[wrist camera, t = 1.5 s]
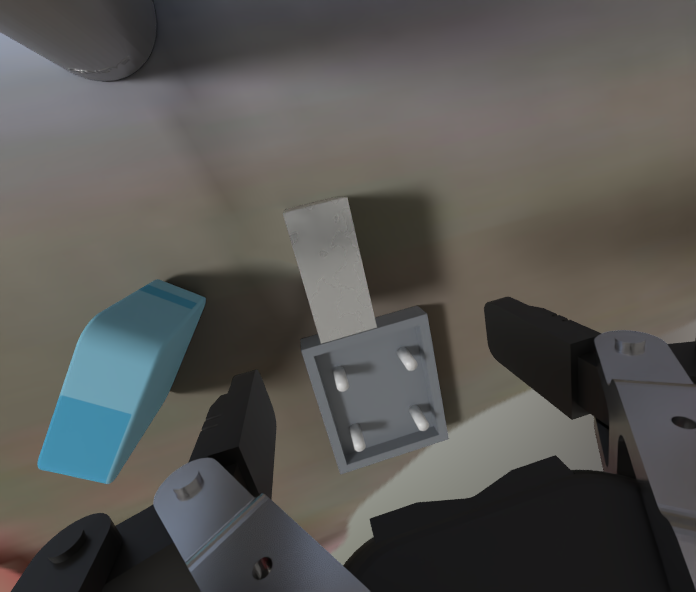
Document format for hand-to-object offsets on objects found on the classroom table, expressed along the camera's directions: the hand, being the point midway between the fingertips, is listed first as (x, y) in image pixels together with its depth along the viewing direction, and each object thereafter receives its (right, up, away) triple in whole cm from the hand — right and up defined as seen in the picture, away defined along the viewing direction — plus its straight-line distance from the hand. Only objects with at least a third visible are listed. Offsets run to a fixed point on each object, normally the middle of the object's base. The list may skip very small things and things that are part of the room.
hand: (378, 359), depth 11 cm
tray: (+2, -8, +26) cm, 27 cm away
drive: (-4, +6, +21) cm, 22 cm away
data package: (-19, -2, +21) cm, 28 cm away
